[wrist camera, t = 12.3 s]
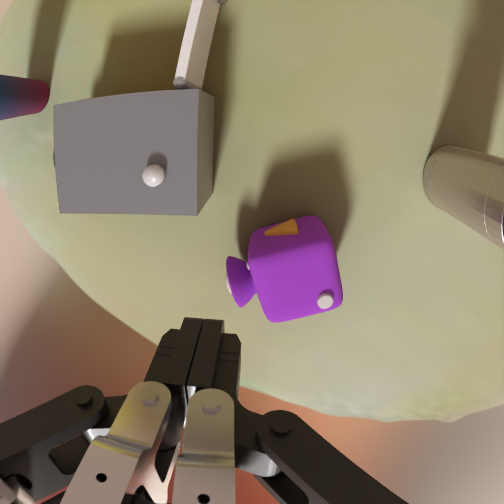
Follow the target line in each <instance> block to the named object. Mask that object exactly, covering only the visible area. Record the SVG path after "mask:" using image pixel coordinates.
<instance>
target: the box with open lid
mask: <svg viewBox="0 0 504 504" xmlns="http://www.w3.org/2000/svg"><path fill="white" fill-rule="evenodd" d="M214 113H215V97H213V96H212V95H210V94H208V93H206V92H204V91H202V90H200V89H182V90H159V91H146V92H136V93H126V94H118V95H110V96H103V97H96V98H90V99H84V100H79V101H74V102H68V103H63V104H58V105H54V155H53V156H54V166H55V170H56V182H57V193H58V202H59V210H60V213H94V214H153V215H187V216H197V215H198V214H199V212H200V211H201V209H202V208H203V206H204V205H205V203H206V202H207V201H208V199H209V198H210V196H211V195H212V193H213V147H214Z"/></svg>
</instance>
